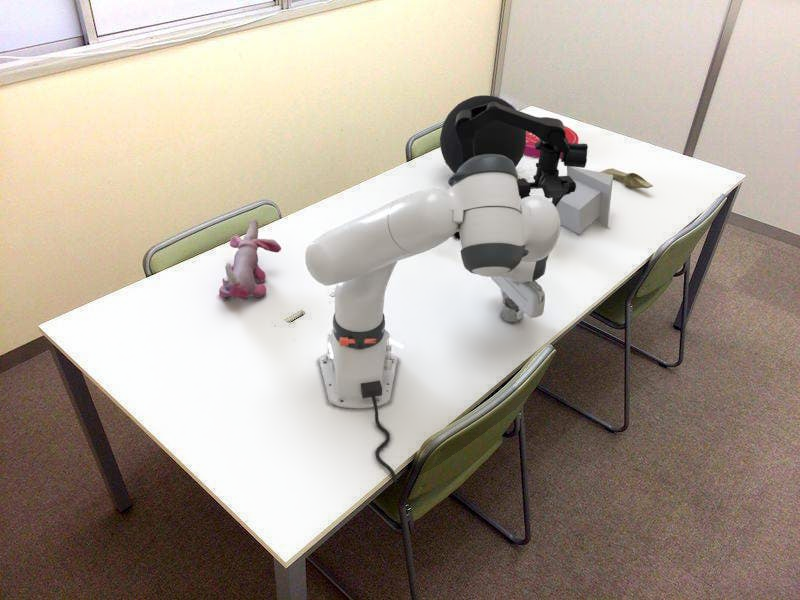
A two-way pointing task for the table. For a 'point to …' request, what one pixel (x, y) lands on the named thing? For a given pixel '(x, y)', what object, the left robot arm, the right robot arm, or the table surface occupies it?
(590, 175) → the grey flanged block
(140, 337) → the table surface
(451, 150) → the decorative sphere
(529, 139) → the sign
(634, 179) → the tool
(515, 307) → the tin
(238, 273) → the toy
